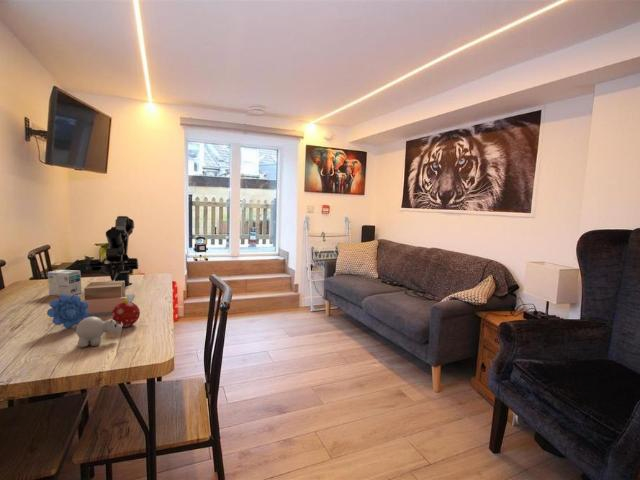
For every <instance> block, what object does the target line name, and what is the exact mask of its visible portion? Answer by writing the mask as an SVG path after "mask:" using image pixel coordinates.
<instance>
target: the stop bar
mask: <svg viewBox="0 0 640 480" xmlns="http://www.w3.org/2000/svg"><path fill="white" fill-rule="evenodd" d="M125 298H127V297H118V298H104V299H90V300H85V299H81V301H85V302H87V303H88V308H87V309H85V310H88V311H89V313H101V312H112V311H113V309H114V308H115V307H116V306H117V305H118V304H120V303H122V302H123V300H124V299H125ZM81 301H80V302H81Z"/></svg>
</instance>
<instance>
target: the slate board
mask: <svg viewBox="0 0 640 480" xmlns="http://www.w3.org/2000/svg"><path fill="white" fill-rule="evenodd" d="M125 296H126V297H127V300H128V302H132V303H133V301H134V299H135V294H125ZM102 316H103V317H104V316H105V317H106V316H112V312H101V313H90V315H89V317H102Z"/></svg>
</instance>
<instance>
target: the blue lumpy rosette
mask: <svg viewBox="0 0 640 480" xmlns="http://www.w3.org/2000/svg"><path fill="white" fill-rule="evenodd" d="M81 300H82V298H81V296H79V295H78V294H76V295H72V296H68V295H65V294H63V295H61V296H58V299H52V300H51V301H50V302H49V306H50V308H49V309H48V310H47V312H46V314H47V316H48V317H49V318H52V323H53V324H54V325H56V326H62V325H63V327H64V328H66V329H71V328H73V327H74V326H75V325H76V326H77V325H78V324H79V323H80V322H81V321H82V320H83V319H85V318H87V317H89V315H90V313H89V311H88V310H85V309H87V308H88V303H87V302H85V301H81ZM80 301H81V302H80Z"/></svg>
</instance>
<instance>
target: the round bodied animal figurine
mask: <svg viewBox="0 0 640 480" xmlns="http://www.w3.org/2000/svg"><path fill="white" fill-rule="evenodd" d="M122 326H123V323H122V322H121V324H120V325H119V324H117V323H116V321H115V320H113V316H112V315H111V317H110V318H109V319H107V320H103V319H102V318H100V317H99V316H94V317H87V318H83V320H82V321H81V322H80V323H79V324H78V325H76V327H75V328H76V330H75V331H76V335H77V336H78V341H77V346H78V348H85V347H88V346H89V344H90V346H92V347H97V346H99V345H101V342H102V341H101V340H102V335H104V334H112V333H113V334H116V335H118V334H119V333H121V332H122V330H123V327H122Z"/></svg>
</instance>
